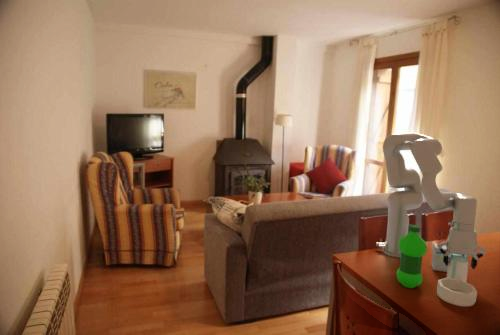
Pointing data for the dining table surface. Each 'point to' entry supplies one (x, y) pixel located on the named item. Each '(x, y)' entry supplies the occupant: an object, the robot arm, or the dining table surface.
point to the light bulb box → (438, 258)
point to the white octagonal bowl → (456, 292)
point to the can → (458, 267)
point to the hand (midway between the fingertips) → (459, 266)
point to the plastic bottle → (411, 257)
